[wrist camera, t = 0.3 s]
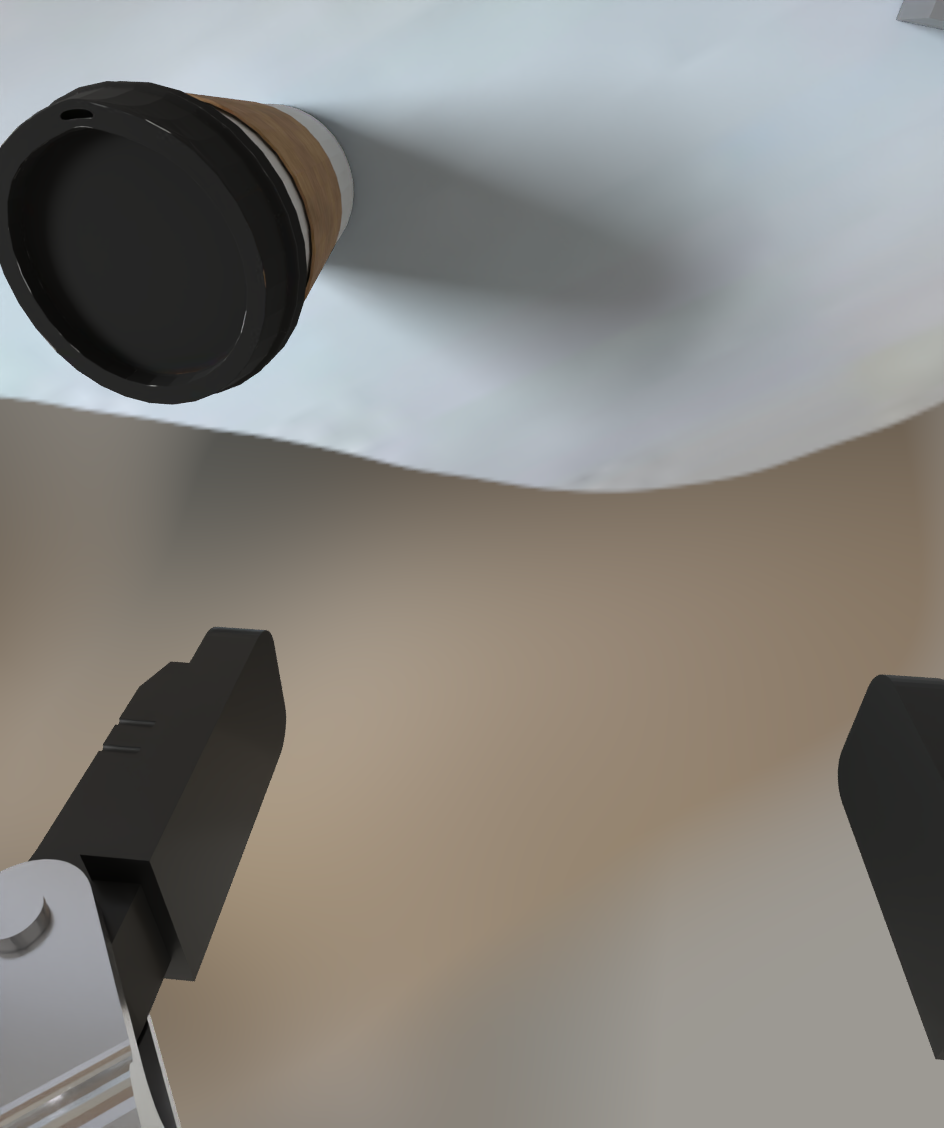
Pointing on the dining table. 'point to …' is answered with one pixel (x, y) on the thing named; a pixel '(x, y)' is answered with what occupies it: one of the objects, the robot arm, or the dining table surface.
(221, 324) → the coffee cup
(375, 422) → the dining table surface
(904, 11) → the lane rails
